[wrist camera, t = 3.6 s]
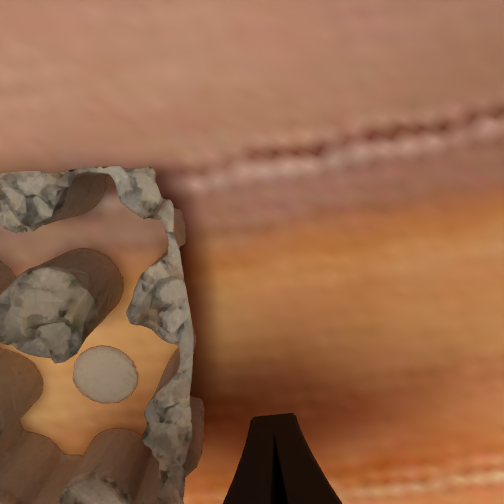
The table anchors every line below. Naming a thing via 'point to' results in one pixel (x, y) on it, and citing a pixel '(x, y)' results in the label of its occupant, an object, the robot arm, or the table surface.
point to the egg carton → (94, 349)
